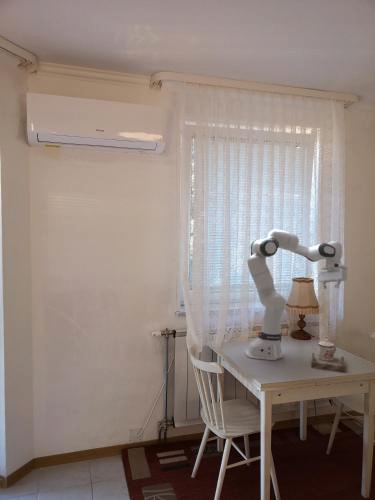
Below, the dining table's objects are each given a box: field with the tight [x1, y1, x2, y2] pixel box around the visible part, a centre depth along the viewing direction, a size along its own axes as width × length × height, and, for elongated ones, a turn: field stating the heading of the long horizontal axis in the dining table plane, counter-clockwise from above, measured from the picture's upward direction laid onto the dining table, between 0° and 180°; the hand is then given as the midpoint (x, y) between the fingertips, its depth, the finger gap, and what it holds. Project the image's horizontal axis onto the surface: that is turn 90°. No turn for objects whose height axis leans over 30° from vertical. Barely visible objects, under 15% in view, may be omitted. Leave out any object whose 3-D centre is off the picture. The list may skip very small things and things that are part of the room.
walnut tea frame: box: [310, 352, 346, 373], centre depth 207 cm, size 17×18×3 cm
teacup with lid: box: [317, 338, 337, 362], centre depth 217 cm, size 12×9×12 cm
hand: (330, 288), depth 223 cm, fingers open, 8 cm apart
